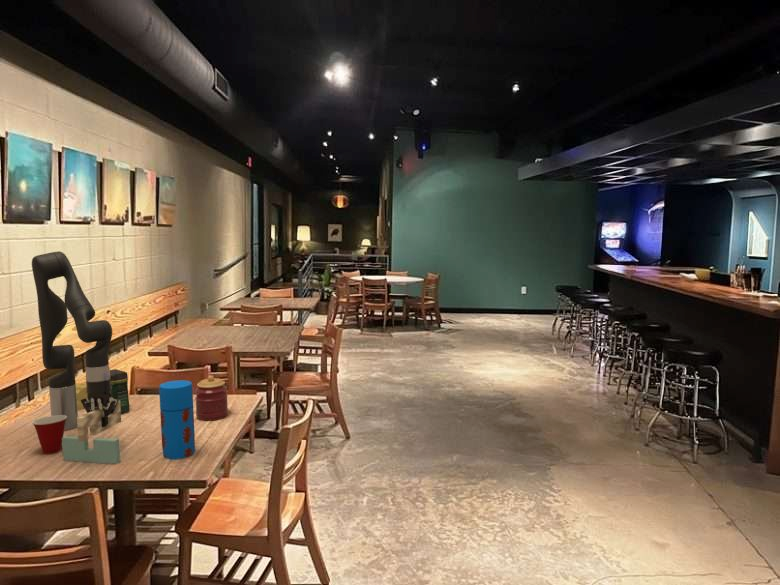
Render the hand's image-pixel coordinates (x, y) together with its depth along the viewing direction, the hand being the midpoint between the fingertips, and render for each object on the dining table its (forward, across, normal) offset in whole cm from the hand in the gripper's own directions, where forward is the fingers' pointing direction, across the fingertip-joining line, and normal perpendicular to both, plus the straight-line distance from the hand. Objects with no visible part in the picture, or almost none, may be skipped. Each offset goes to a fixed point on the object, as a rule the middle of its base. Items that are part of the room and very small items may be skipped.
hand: (101, 426), depth 199 cm
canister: (+10, +19, +44) cm, 49 cm away
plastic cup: (+10, -20, 0) cm, 23 cm away
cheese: (+11, -44, +50) cm, 68 cm away
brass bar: (+2, 0, 0) cm, 2 cm away
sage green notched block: (+10, 0, -6) cm, 12 cm away
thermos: (+10, +26, +5) cm, 29 cm away
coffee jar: (+10, -24, +44) cm, 51 cm away
